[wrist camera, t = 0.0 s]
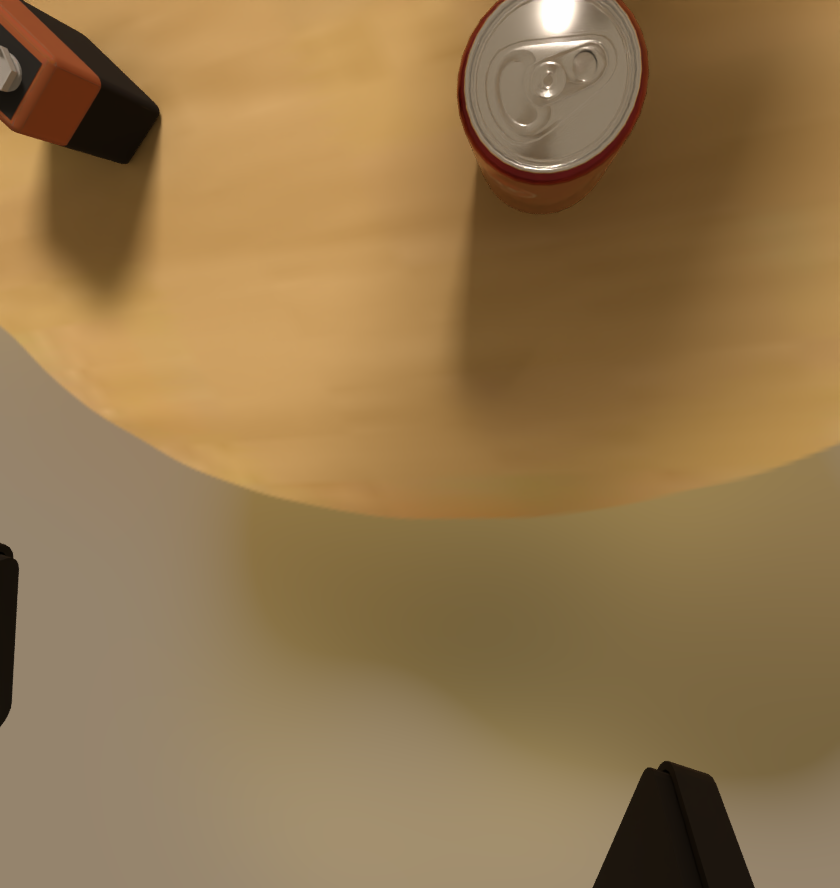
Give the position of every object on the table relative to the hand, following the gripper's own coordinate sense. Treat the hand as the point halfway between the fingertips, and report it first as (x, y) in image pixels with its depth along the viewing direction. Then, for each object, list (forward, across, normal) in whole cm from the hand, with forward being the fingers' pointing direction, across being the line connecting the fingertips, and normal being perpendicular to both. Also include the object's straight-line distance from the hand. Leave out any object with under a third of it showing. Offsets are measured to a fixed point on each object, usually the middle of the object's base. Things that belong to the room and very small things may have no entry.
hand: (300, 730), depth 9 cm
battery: (+32, +27, -11) cm, 43 cm away
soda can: (+31, 0, -14) cm, 34 cm away
